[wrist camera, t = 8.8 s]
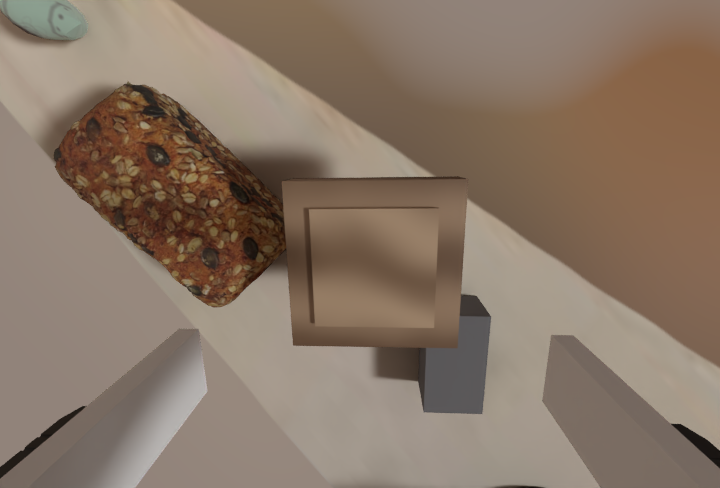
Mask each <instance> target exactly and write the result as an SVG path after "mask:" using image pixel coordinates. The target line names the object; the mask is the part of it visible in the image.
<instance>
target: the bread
mask: <svg viewBox="0 0 720 488" xmlns="http://www.w3.org/2000/svg"><path fill="white" fill-rule="evenodd" d="M54 160H55V161H56V162H57V163H56V166H55V168H56V170H57V172H58V173H59V175H60V177H61V178H62V179H63V180H64V182H66V183H67V184H68V185H69V186H70V187H72V189H73V190H74V191H75V192H76V193H77V195H78V196H79V198H80V199H83V200H84V201H86V202H87V203H89V204H90V205H91V206H93V207H94V209H95V211H97V212H98V213H99V214H100V215H101V217H102V218H103V219H105V220H106V221H108V222H109V223H110V225H112V226H113V227H114V228H116V229H117V231H120V232H123V233H124V234H125V236H126V237H127V238H128V239H129V240H132V241H133V243H134V245H135V246H136V247H137V248H139V249H140V250H143V251H144V252H146V253H147V254H149V255H150V256H152V257H153V258H155V259H156V260H157V261H159V262H160V263H161V264H162V265H163V266H164V267H165V268H166V269H167V270H168V271H169V272H170V273H171V276H172V277H173V278H174V279H175V280H176V281H178V282H179V283H180V284H182V285H183V286H185V287H187V289H188V290H189V291H190V292H192V294H193V296H195V297H196V298H198V299H199V300H201V301H202V302H204V303H206V304H207V305H208V306H212V307H222V306H224V305H227V304H229V303H231V302H232V301H233V300H235V299H236V298H237V297H238V296H239V295H240V293H241V292H242V291H243V290H244V289H245V288H246V287H248V286H249V285H250V284H251V283H252V282H253V281H254V280H256V279H257V278H258V277H259V276H260V275H261V274H262V273H263V272H264V271H265V270H266V269H267V268H268V266H269V265H270V264H271V263H272V262H273V261H274V260H275V259H276V258H277V257H278V256H279V255H280V254H281V253H282V252H283V251H284V250H285V249H286V237H285V223H284V209H283V204H282V203H281V202H280V201H279V200H278V198H276V197H275V196H274V195H272V194H271V193H270V191H269V190H268V189H267V188H266V187H265V185H264V184H263V183H262V182H261V181H260V180H259V179H257V178H256V177H255V175H254V174H252V173H251V172H250V171H249V170H248V169H247V168H246V166H244V165H243V164H242V163H241V162H240V161H239V160H238V159H237V158H236V157H235V156H234V155H233V154H232V152H231V151H230V150H228V149H227V148H226V147H224V146H223V145H222V144H221V142H220V141H219V140H218V139H217V138H216V137H215V136H214V135H213V134H212V133H211V132H210V131H209V130H208V129H207V128H206V127H205V126H204V125H203V124H201V123H200V122H199V121H198V120H197V119H196V118H195V117H193V116H192V115H191V114H190V113H189V112H188V111H187V110H186V109H185V108H184V107H183V106H182V105H180V104H179V103H178V102H176V101H175V100H173V99H172V98H170V97H169V96H166V95H165V94H160V93H159V92H158V91H157V90H156V89H154V88H153V87H149V86H146V85H132V84H130V83H129V82H127V84H124V85H123V86H121V87H120V88H118V89H115V91H114V93H112V94H111V95H110V96H109V97H107V98H106V99H104V100H103V101H101V102H100V103H98V104H97V105H96V106H95V107H94V108H93V109H92V110H91V111H89V112H88V113H87V114H86V115H85V116H84V117H83V118H82V119H81V120H80V121H76V122H75V123H74V124H73V125H72V126H71V129H70V130H69V131H68V132H67V134H66V136H65V137H64V139H63V141H62V142H61V144H60V146H59V148H57V149H56V150H55V152H54Z"/></svg>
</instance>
